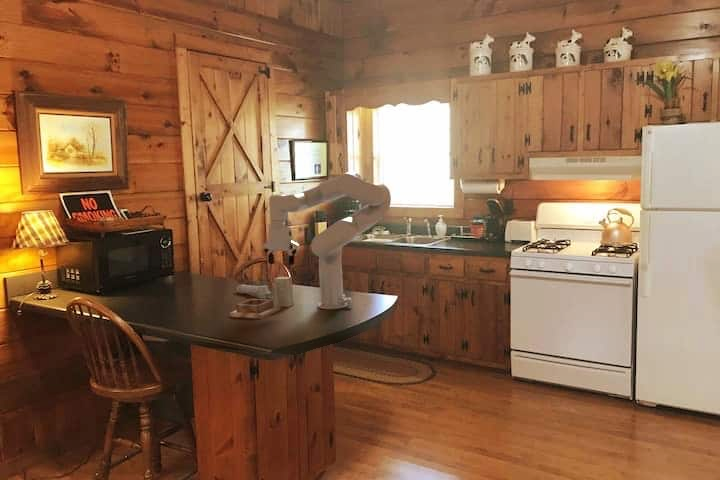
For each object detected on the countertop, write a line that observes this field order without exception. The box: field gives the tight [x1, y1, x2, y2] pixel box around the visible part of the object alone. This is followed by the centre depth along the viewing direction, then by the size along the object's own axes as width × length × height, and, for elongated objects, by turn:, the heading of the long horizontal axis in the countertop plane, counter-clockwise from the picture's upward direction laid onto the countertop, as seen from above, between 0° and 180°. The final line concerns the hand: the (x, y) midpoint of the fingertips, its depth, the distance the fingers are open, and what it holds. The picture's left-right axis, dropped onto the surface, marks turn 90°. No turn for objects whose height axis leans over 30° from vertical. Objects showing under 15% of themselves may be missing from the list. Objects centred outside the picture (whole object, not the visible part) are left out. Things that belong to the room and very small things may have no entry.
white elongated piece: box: [235, 283, 271, 300], centre depth 281 cm, size 5×7×25 cm
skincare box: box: [274, 276, 294, 308], centre depth 257 cm, size 6×4×12 cm
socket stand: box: [229, 298, 282, 319], centre depth 247 cm, size 15×15×4 cm
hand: (281, 264), depth 256 cm, fingers open, 9 cm apart
